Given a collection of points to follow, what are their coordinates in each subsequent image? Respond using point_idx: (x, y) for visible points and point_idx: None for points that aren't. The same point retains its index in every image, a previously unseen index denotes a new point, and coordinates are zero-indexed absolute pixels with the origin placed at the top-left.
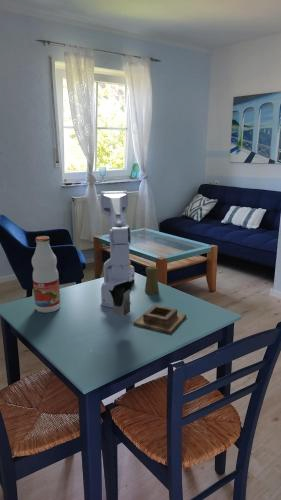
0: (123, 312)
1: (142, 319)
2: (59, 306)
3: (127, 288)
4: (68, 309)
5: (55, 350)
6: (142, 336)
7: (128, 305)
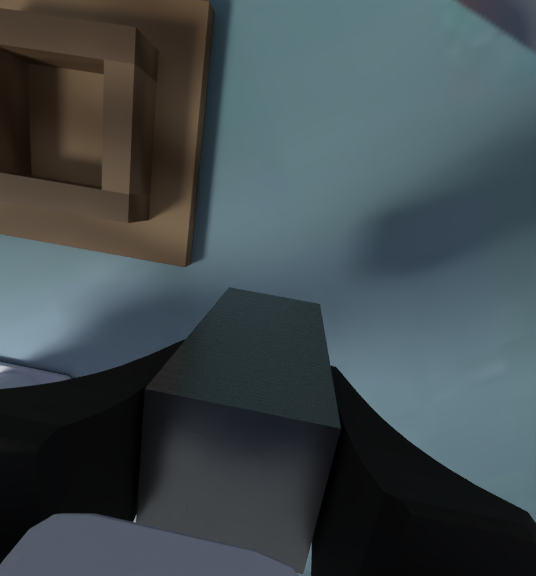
0: (321, 318)
1: (136, 230)
2: None
3: (134, 427)
4: None
5: (518, 501)
6: (294, 173)
7: (241, 311)
